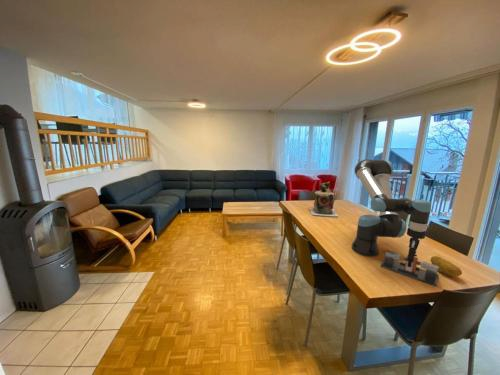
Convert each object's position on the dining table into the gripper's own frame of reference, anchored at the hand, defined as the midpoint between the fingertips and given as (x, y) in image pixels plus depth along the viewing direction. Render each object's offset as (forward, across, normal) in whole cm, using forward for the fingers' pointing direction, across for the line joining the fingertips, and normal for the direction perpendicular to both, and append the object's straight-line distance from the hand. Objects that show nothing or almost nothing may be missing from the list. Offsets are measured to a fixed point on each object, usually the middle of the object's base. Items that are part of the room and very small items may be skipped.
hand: (409, 269), depth 112 cm
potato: (+2, +13, -14) cm, 19 cm away
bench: (+2, 0, 0) cm, 2 cm away
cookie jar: (+2, +62, +77) cm, 99 cm away
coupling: (0, 0, 0) cm, 1 cm away
